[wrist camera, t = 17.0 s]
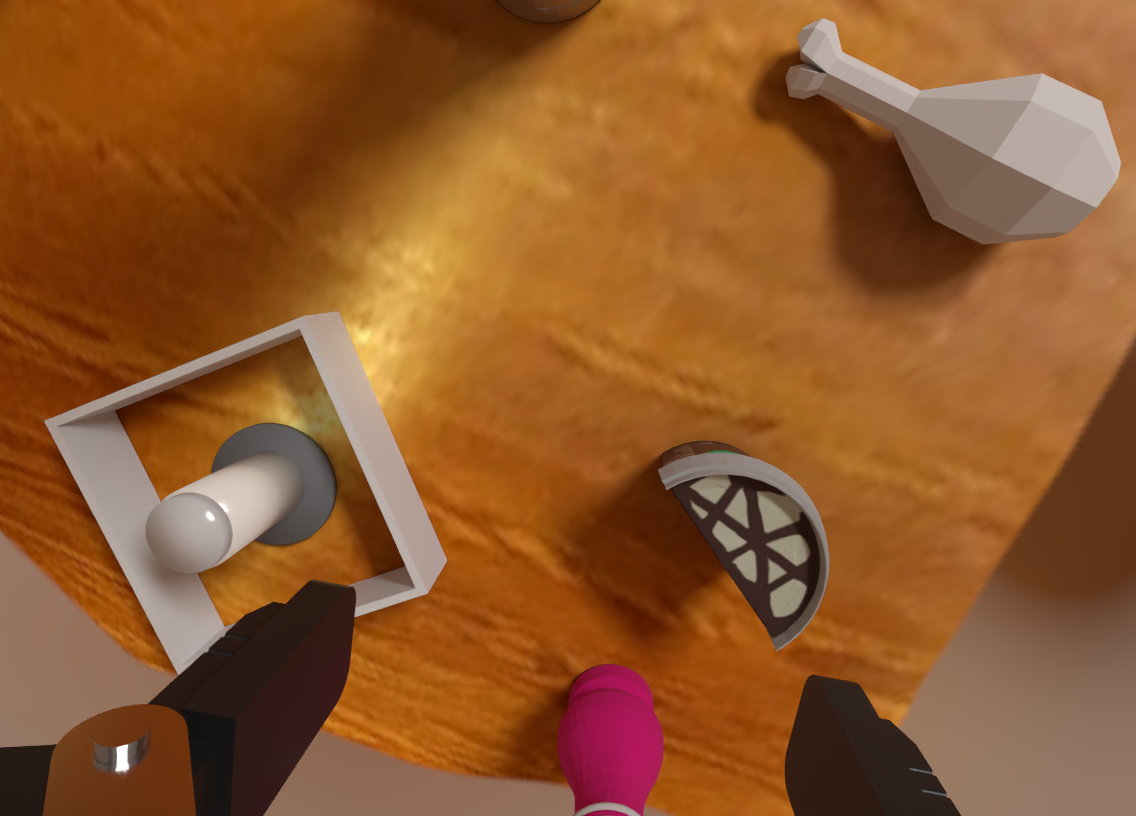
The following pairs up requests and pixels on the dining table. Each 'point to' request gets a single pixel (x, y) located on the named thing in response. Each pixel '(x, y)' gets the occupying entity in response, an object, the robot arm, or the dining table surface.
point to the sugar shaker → (223, 511)
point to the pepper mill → (610, 742)
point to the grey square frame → (129, 498)
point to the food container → (755, 530)
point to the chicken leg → (977, 141)
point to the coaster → (309, 462)
